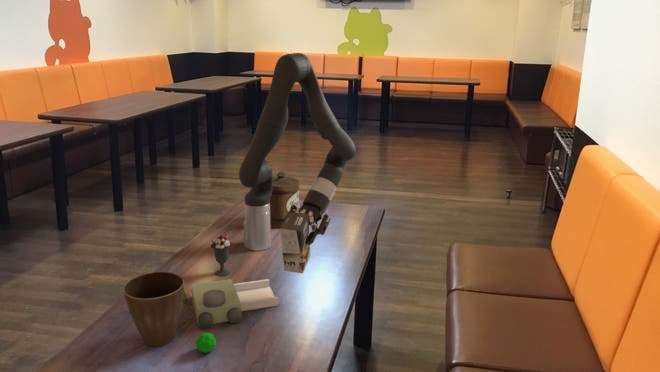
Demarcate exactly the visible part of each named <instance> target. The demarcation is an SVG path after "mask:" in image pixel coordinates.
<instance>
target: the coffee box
mask: <svg viewBox="0 0 660 372" xmlns="http://www.w3.org/2000/svg"><path fill="white" fill-rule="evenodd" d="M309 234H310V225H309V217H308V214H306V213H294V212H289V213H288V215H287V217H286V219H285V221H284V222H283V225H282V226H281V228H280V238H281V239H280V240H281V250H282V251H281V252H282V261H283V271H284V272H291V273H295V274H296V273H297V274H304V272H305V270H306V267H307V266H308V263H309V260H310V258H311V245H307V244H306V240H307V238H308V236H309Z"/></svg>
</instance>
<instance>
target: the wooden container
mask: <svg viewBox="0 0 660 372" xmlns="http://www.w3.org/2000/svg"><path fill="white" fill-rule="evenodd" d="M293 205H295V206H296V207H298V208H300V180H299V179H297V178H295V177H291V176H286V173H285V172H283V171H279V172H277V175H276V176H273V180H272V195H271V198H270V228H275V229H281V226H282V225H283V222H284V221H285V220H284V219H285V217H286V216H287V214H288V212H289V210H290V209H291V207H292V206H293ZM298 213H299V212H298Z"/></svg>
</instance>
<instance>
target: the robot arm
mask: <svg viewBox="0 0 660 372" xmlns="http://www.w3.org/2000/svg"><path fill="white" fill-rule="evenodd" d="M296 83H298V84H299V86H300V87H301V89H302V90H303V92H304V94H305V97H306V100H307V104H308V110H309V115H310V119H311V121H312V123H313V125H314V127H315V129H316V130H317V132H318V134H319V135H320V137H321V138H322V140H324V141H325V140H327V141H328V142H329V143H330V145H331V148H330V149H329V151H328V152H327V155H326V158H325V160H324V163H323V166H322V168H321V169H320V171H319V172H318V175H317V177H316V178H315V180H314V181H313V182H312V184H311V186H310V188H309V190H308V192H307V194H306V196H305V197H304V199H303V202H302V205H301V206H299V208H298V207H296V206H295V205H293V206H292V207H291V209H290V210H289V212H294V213H298V212H299V213H306V214H308V217H309V227H311V231H309V236H308V238H307V240H306V244H307V245H310V246H311V245H313V244H314V242H315V240H316V239H317V236H318V235H322V236H323V235H325V233H326V231H327V229H328V226H329V224H330V222H331V217H330V216H329V214H327V213H325V212H326V211H327V209H328V207H329V205H330V203H331V202H332V199H333V197H334V195H335V192H336V190H337V187H338V185H339V184H340V181H341V180H342V177H343V170H344V168H345V166H346V164H347V163H348V162H350V161H352V160H353V159H354V158H355V156H356V155H357V154H356V153H357V148H356V145H355V142H354V141H353V139H352V138H351V137H350V136H349V135H348V133H347V132H346V131H345V130H344V129H343V128H342V126H341V125H340V124H339V122H338V121H337V118H336V116H335V114H334V113H333V112H332V109H331V108H330V106H329V104H328V102H327V100H326V98H325V95H324V93H323V91H322V88H321V86H320V82H319V80H318V78H317V75H316V72H315V69H314V66H313V65H312V63H311V60H310V58H309V57H308V56H307V55H305V54H304V53H301V52H295V53H287V54H283V55H281V56H280V57H279V59H278V60H277V61H276V63H275V67H274V71H273V75H272V79H271V83H270V87H269V92H268V95H267V97H266V101H265V103H264V107H263V109H262V112H261V114H260V117H259V120H258V123H257V126H256V130H255V132H254V135H253V137H252V139H251V143H250V145H249V148H248V151H247V152H246V155H245V157H244V159H243V161H242V163H241V165H240V168H239V172H238V177H239V181H240V183H241V185H242V186H243V187H245V188H249V189H250V190H248V192H247V193H246V194H245V195H244V217H245V218H244V221H243V245H244V246H245V248H246V249H247V250H251V251H254V252H255V251H257V252H258V251H260V252H261V251H265V250H268V249H269V248H271V243H272V241H271V240H272V239H271V237H272V236H271V235H272V231H271V227H270V198H271V195H272V180H273V177H274V176H273V168H272V166H271V164H270V162H269V161H268V160H267V157H268V155H269V154H270V153H271V151H273V149H274V148H275V147H276V145H277V144H278V143H279V142H280V141H281V139H282V137H283V135H284V133H285V129H286V127H287V125H288V121H289V108H288V101H289V97H290V94H291V92H292V89H293V87H294V85H295V84H296ZM289 212H288V213H289ZM287 215H288V214H287ZM286 217H287V216H286ZM286 217H285V219H286ZM285 219H284V220H285ZM319 221H320V224H319Z"/></svg>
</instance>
